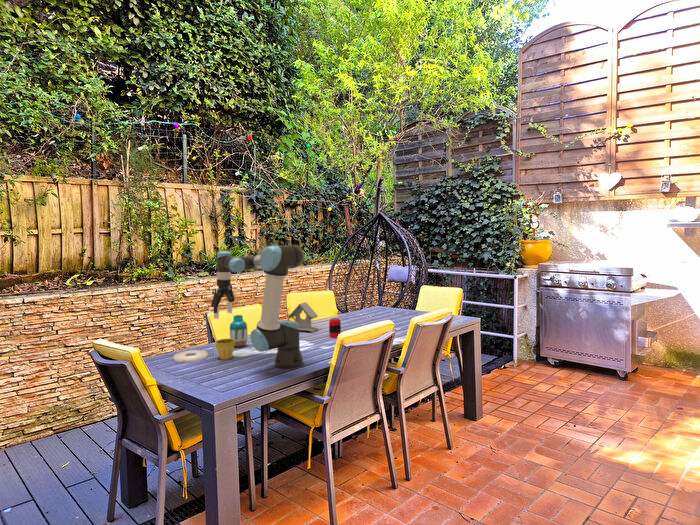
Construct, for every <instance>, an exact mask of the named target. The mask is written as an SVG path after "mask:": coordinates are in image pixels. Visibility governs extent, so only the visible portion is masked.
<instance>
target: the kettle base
mask: <svg viewBox="0 0 700 525" xmlns="http://www.w3.org/2000/svg"><path fill="white" fill-rule="evenodd" d="M207 356H208V351H206V350H201V349H194V350H193V349H192V350H186V351H185V350H184V351H180V352H177V353H176V354H174V355H173V362H175V363H179V364H181V363H182V364H183V363H185V364H187V362H190V363H195V361H197V362H200V361H199V360H201V361H203V360H202V359H204V360H206V359H208V357H207ZM205 358H206V359H205Z"/></svg>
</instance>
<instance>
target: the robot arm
mask: <svg viewBox="0 0 700 525" xmlns="http://www.w3.org/2000/svg"><path fill="white" fill-rule="evenodd" d="M304 261H305V253H304V251H303V250H302V249H301V248H300V246H298V245H295V244H287V245H270V246H266V247H265V248H264V249H263V250H262V251H261V253H260V254H257V255H251V256H248V255H247V256H232V253H231V252H230V251H226V250H220V251H218V252H217V253H216V286H218V288H215V289H214V292H213V293H214V294H213V296H212V300H211V304H210V306H211V308H213V319H217V320H218V319H219V318H220V316H219V315H220V303H221V301H222V298H223V297H224V296H225V298H226V299H227V309H226V310H227V314H232V313H233V303H234V302H235V299H236V298H235V294H234V291H233V285H231V278H232V277H231V275H232V274H231V271H232V272H234V273H240V272H243V271H247V270H249V271H251V270H261V269H262V270H263V273H264V274H265V284H264V292H263V300H262V305H261V306H262V308H261V315H260V319H259V321H257V323H256V328H254V329H252V330H251V332H250V342H251V344H252V346H253V348H254V349H255V350H256V351H258V352H268V351H270V350H274V349H277V351H276V355H275V356H274V357H275V358H274V366H275V367H276V368H280V369H293V368H299V367H301V366H303V365H304V357H303V355H302V351H301V349H300V331H301V330H300V329H299V324H298V322H295V320H286V319H284V320H281V319H280V320H279V317H280V311H281V310H280V309H281V303H282V302H281V301H282V294H283V288H284V282H285V277H287V276H288V274H289V269H296V268H299V267H300V266H301V265H302V264H303V262H304Z"/></svg>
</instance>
